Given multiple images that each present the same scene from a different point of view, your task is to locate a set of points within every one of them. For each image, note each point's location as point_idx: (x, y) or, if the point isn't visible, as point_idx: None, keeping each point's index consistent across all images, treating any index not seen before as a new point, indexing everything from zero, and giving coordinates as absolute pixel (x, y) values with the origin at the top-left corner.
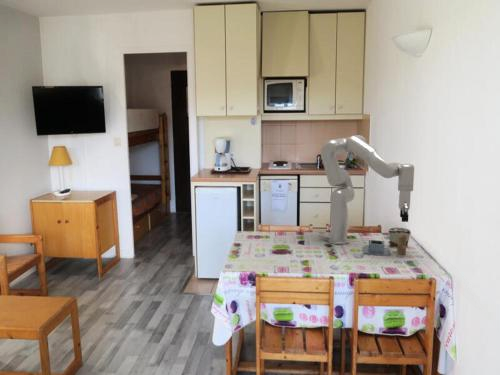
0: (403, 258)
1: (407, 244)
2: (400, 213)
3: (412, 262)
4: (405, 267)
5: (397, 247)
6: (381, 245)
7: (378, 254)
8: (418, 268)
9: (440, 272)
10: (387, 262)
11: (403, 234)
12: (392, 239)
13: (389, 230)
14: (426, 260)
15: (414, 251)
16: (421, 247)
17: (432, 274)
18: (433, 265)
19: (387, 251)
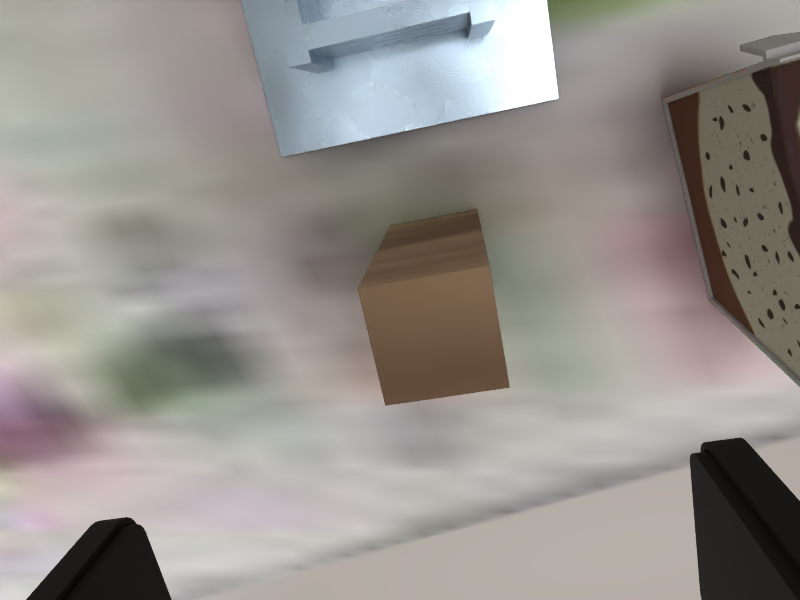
0: (285, 297)
1: (726, 314)
2: (780, 528)
3: (209, 385)
4: (34, 338)
5: (461, 224)
6: (279, 20)
7: (246, 11)
8: (78, 439)
9: None
10: (69, 158)
11: (790, 302)
12: (714, 125)
13: (773, 60)
14: (333, 492)
15: (584, 382)
16: (771, 441)
17: (8, 535)
18: (226, 543)
19: (396, 103)
